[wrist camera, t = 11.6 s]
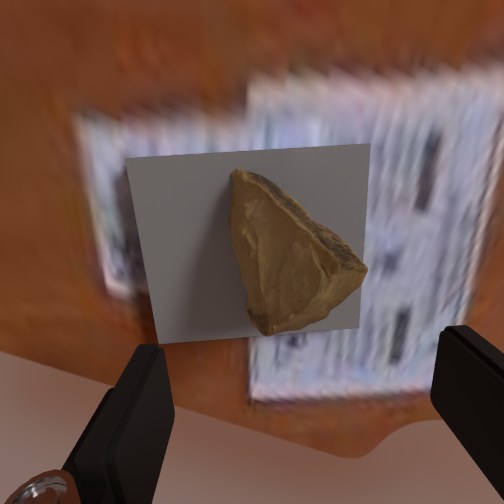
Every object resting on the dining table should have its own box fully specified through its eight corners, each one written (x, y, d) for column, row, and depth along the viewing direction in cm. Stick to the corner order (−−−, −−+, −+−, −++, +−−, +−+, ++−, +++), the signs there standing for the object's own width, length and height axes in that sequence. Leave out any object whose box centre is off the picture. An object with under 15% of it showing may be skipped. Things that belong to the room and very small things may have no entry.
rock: (305, 362, 22) (396, 255, 18) (238, 427, 15) (364, 274, 11) (211, 268, 26) (269, 166, 23) (124, 284, 19) (187, 138, 15)
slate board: (356, 144, 22) (370, 143, 20) (348, 312, 26) (358, 327, 24) (136, 157, 21) (124, 158, 19) (165, 327, 26) (158, 344, 24)
